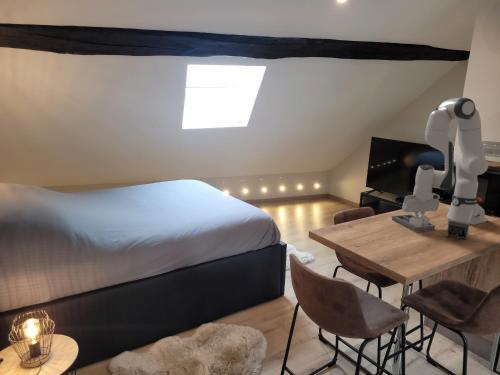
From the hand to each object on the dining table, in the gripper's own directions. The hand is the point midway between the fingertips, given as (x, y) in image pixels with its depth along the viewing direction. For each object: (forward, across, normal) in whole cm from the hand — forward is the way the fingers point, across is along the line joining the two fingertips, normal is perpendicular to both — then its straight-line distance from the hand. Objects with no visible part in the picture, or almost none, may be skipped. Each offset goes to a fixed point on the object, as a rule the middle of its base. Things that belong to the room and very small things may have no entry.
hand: (418, 218), depth 200 cm
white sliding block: (+2, -6, -5) cm, 8 cm away
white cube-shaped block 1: (+2, 0, -4) cm, 4 cm away
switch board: (+3, -3, 0) cm, 5 cm away
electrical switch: (+4, +8, -20) cm, 22 cm away
